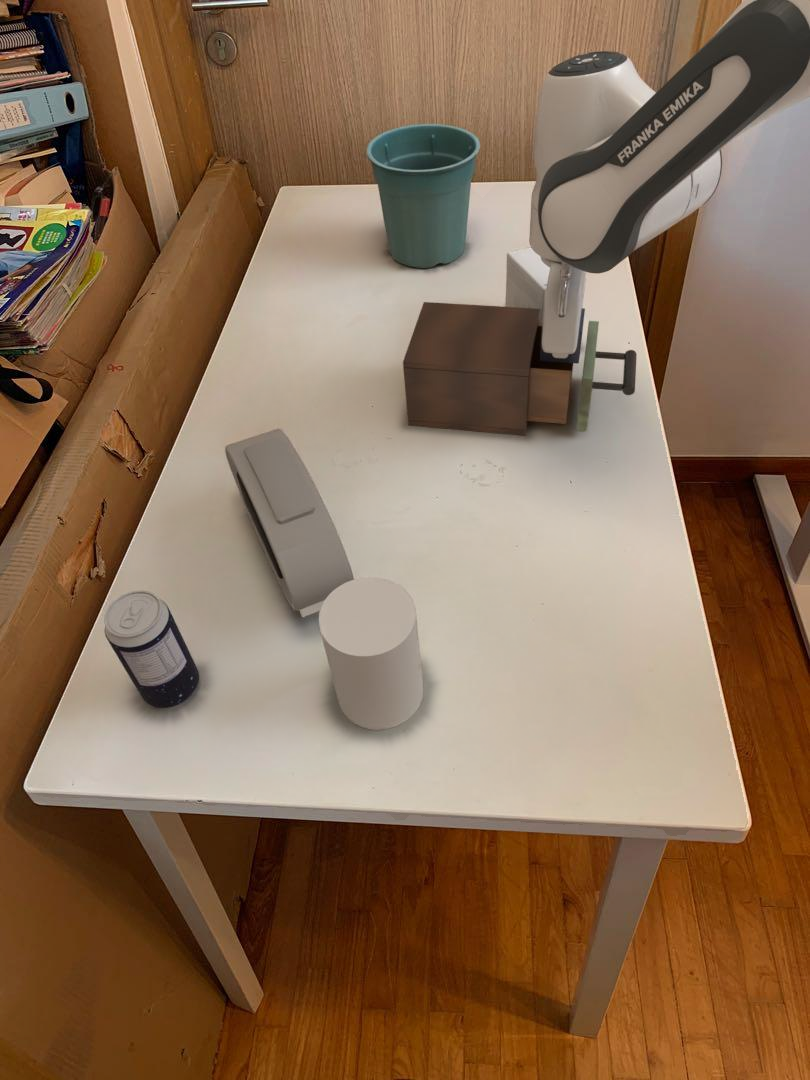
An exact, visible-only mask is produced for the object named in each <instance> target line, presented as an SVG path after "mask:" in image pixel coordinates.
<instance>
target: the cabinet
mask: <svg viewBox="0 0 810 1080" xmlns="http://www.w3.org/2000/svg"><path fill="white" fill-rule="evenodd" d="M539 322H540V309H535V308H518V307H505V306H499V305H483V304H482V305H481V304H464V303H448V302H431V301H424V302H423V303H422V306H421V309H420V313H419V315H418V318H417V321H416V323H415V326H414V329H413V331H412V334H411V337H410V340H409V344H408V347H407V350H406V352H405V355H404V358H403V361H402V366H403V367H402V368H403V369H402V371H403V380H404V392H405V402H406V403H405V405H406V416H407V425H408V426H412V427H424V428H435V429H447V430H459V431H470V432H480V433H481V432H482V433H492V434H502V435H503V434H504V435H516V436H526V435H527V428H528V424H529V421H527V407H528V389H529V372H530V366H531V361H532V355H533V350H534V344H535V339H536V334H537V328H538V323H539Z"/></svg>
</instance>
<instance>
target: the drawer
mask: <svg viewBox="0 0 810 1080" xmlns="http://www.w3.org/2000/svg"><path fill="white" fill-rule="evenodd" d="M542 325H543V323H540V322H539V323H538V328H537V334H536V339H535V344H534V350H533V355H532V361H531V366H530V372H529V389H528V407H527V421H528V422H535V423H549V424H558V425H559V424H560V425H566V424H567V420H568V411H569V403H570V396H571V395H570V394H571V387H572V379H573V372H574V371H573V370H574V363H564V362H550V361H540V349H541V334H542ZM599 325H600V321H597V320H596V321H595V320H588V326H587V332H586V343H585V350H584V358H583V367H582V368H583V369H582V375H581V376H582V378H581V386H580V393H579V403H578V412H577V421H576V429H575V431H577V432H585V433H586V432H587V430H588V422H589V415H590V405H591V401H592V400H591V399H592V391H593V390H605V391H616V392H617V391H618V392H619V391H620V392H622V394H624V395H625V396H631V395H633V394H635V392H636V376H637V375H636V374H637V352H636V350H634V349H628V350H626V351H625V352H612V351H597V344H598V335H599ZM596 359H603V360H604V359H605V360H621V361H623V374H622V375H623V376H622V383H614V382H602V381H599V382H598V381H594V373H595V366H596Z"/></svg>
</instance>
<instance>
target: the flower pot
mask: <svg viewBox="0 0 810 1080" xmlns="http://www.w3.org/2000/svg"><path fill="white" fill-rule="evenodd" d="M480 148H481V142H480V140H479V138H478V137H477V136H476V134H474V133H472V132H470V131H469V130H467V129H464V128H460V127H457V126H454V125H447V124H440V123H419V124H409V125H408V124H407V125H403V126H398V127H395V128H391V129H389V130H386V131H384V132H382V133H379V134H378V135H377V136H375V137H374V138H373V139H371V140H370V142H369V143H368V144H367V146H366V156H367V158H368V161H370V163H371V166H372V172H373V177H374V181H375V183H376V184H377V189H378V193H379V200H380V206H381V211H382V217H383V224H384V231H385V236H386V242H387V248H388V252H389V253H390V254H391V256H392V258H393V260H394V261H396V262H398V263H400V264H402V265H405V266H408V267H412V268H424V269H425V268H426V269H427V268H434V267H435V266H436V265H438V264H443V265H447V264H450V263H452V262H455V260H457V259H459V258H460V256H461V255H463V253H464V251H465V248H466V241H467V240H466V239H467V230H468V228H467V227H468V218H469V208H470V198H471V197H470V196H471V187H472V179H473V177H474V174H475V167H476V165H475V164H476V157H477V156H478V154H479V151H480Z"/></svg>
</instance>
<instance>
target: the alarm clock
mask: <svg viewBox="0 0 810 1080" xmlns="http://www.w3.org/2000/svg"><path fill="white" fill-rule="evenodd" d="M224 452H225V456H226V460H227V463H228V465H229V468H230V471H231V474H232V477H233V479H234V483H235V484H236V487H237V490H238V492H239V495H240V497H241V500H242V503H243V505H244V507H245V509H246V512H247V515H248V517H249V520H250V522H251V524H252V526H253V529H254V532H255V533H256V536H257V538H258V541H259V542H260V544H261V547H262V550H263V552H264V554H265V557H266V558H267V561H268V563H269V565H270V567H271V569H272V572H273V574H274V576H275V579H277V582H278V585H279V586H280V588H281V590H282V592H283V594H284V596H285V599H286V600H287V602H288V603H289V605H290V607H291V609H292V610H293V611H297V612H299V613H300V616H301V618H303V619H304V618H306V617H308V616H310V615H314V614H315V613H318V612H320V609H321V607H322V604H323V603H324V601H325V599H326V598H327V597H328V596H329V594H330V593H331V592H332V591H334V590H335V589H336V588H338V587H339V586H341V585H342V584H344V583H346V582H349V581H351V580H354V579H355V577H354V573H353V569H352V566H351V564H350V560H349V558H348V556H347V552H346V550H345V548H344V545H343V542H342V540H341V538H340V536H339V533H338V530H337V528H336V526H335V524H334V522H333V520H332V517H331V515H330V513H329V511H328V508H327V506H326V504H325V502H324V499H323V498H322V495H321V494H320V492H319V490H318V487H317V486H316V484H315V482H314V480H313V478H312V476H311V474H310V472H309V470H308V469H307V467H306V465H305V463H304V462H303V460H302V458H301V456H300V454H299V452H298V451H297V449H296V448H295V446H294V445H293V443H292V441H291V440H290V439H289V437H288V436H287V434H286V433H285V432H284V431H283V429H281V428H275V429H272V430H269V431H266V432H263V433H259V434H257V435H254V436H251V437H248V438H245V439H242V440H239V441H236V442H233V443H230V444H226V446H225V447H224Z"/></svg>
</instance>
